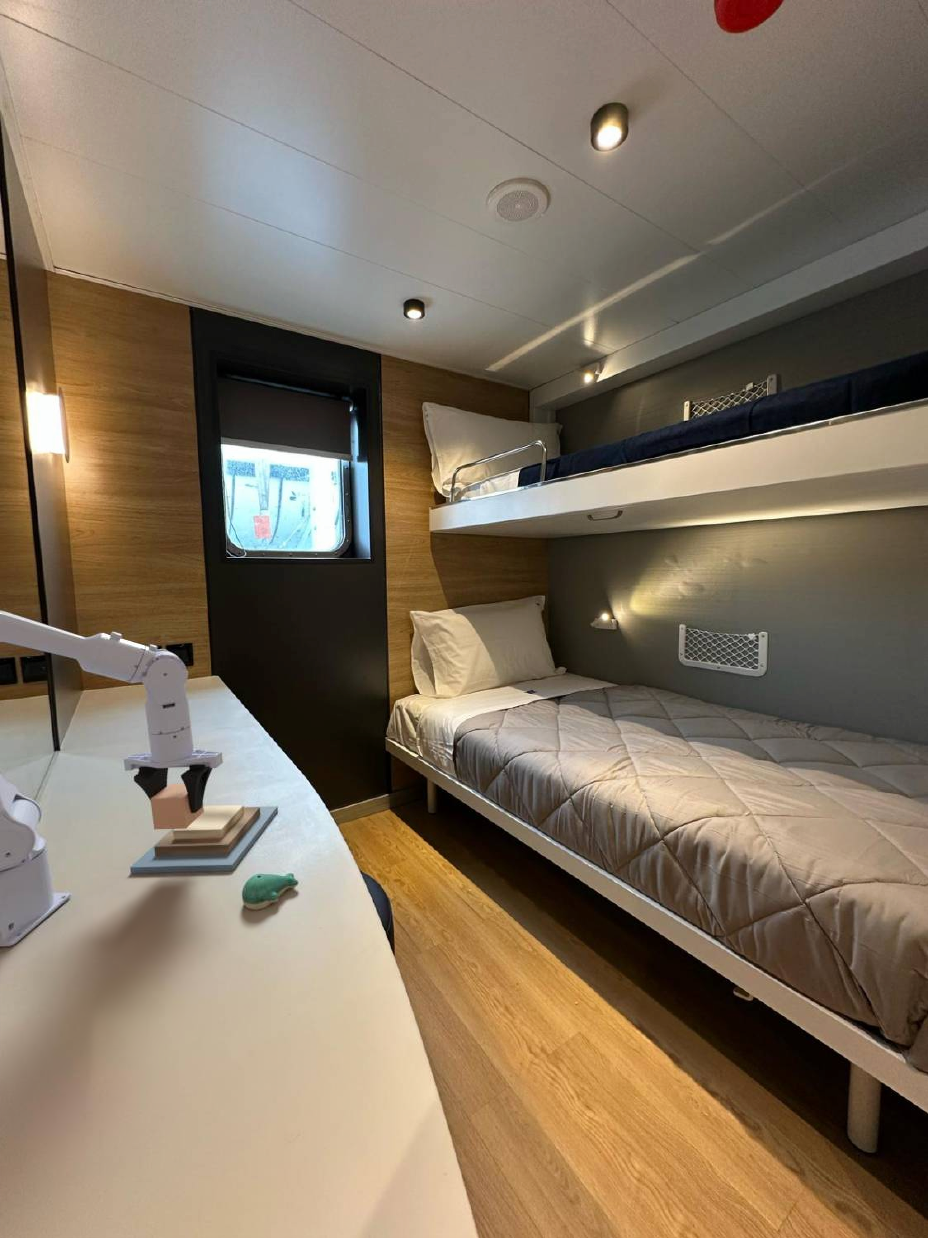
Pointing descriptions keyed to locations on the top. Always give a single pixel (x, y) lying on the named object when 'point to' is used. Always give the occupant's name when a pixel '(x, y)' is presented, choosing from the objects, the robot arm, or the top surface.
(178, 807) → the terracotta block
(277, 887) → the whale figurine
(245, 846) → the plinth board
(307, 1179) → the top surface
